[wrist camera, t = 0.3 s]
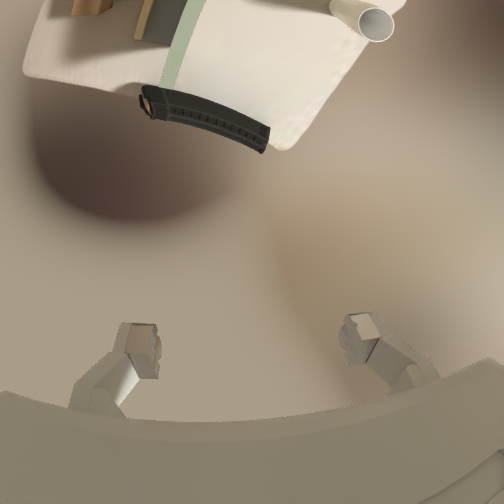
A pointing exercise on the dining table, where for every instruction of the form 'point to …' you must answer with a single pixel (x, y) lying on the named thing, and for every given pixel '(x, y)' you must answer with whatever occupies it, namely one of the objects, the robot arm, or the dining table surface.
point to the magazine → (203, 116)
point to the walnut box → (90, 7)
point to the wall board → (169, 30)
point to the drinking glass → (364, 18)
